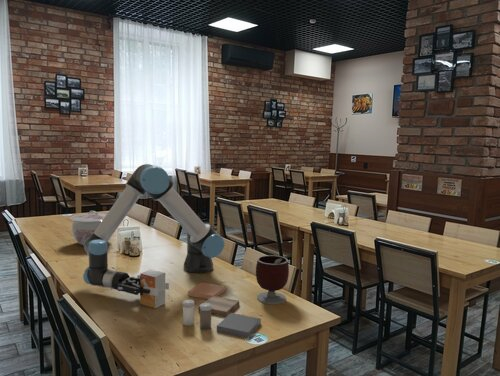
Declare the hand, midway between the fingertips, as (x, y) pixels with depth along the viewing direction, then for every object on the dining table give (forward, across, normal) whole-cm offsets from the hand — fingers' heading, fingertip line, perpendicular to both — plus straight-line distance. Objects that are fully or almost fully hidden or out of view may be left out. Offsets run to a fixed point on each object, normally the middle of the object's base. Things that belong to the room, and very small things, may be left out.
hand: (163, 289), depth 167 cm
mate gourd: (+37, -26, -7) cm, 46 cm away
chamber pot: (-92, -61, -7) cm, 111 cm away
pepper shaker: (+24, +9, -7) cm, 27 cm away
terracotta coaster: (+9, -20, -7) cm, 23 cm away
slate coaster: (+35, +4, -7) cm, 36 cm away
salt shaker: (+17, +9, -7) cm, 20 cm away
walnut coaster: (+21, -8, -7) cm, 24 cm away
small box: (-5, 0, -7) cm, 9 cm away
